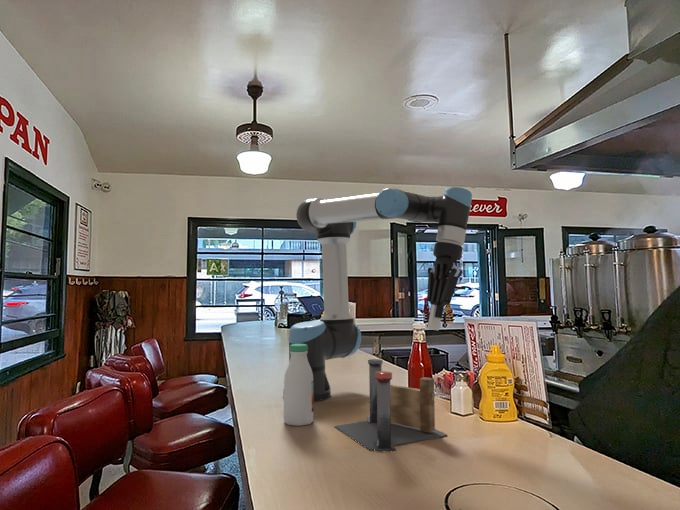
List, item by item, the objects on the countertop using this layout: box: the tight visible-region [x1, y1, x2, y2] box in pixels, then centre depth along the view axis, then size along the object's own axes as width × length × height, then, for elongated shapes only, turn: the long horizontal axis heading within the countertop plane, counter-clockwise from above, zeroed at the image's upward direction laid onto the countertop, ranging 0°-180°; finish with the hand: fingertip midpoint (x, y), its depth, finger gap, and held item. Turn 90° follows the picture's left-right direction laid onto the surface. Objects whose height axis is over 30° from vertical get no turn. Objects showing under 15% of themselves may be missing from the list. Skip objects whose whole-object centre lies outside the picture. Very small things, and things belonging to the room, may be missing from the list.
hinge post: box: [366, 358, 384, 423], centre depth 118 cm, size 4×4×16 cm
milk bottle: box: [283, 344, 315, 427], centre depth 118 cm, size 8×8×20 cm
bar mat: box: [334, 420, 448, 451], centre depth 110 cm, size 18×21×1 cm
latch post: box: [373, 370, 397, 453], centre depth 99 cm, size 4×4×16 cm
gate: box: [390, 376, 436, 433], centre depth 112 cm, size 14×2×12 cm, turn 51°
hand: (432, 329), depth 121 cm, fingers closed
